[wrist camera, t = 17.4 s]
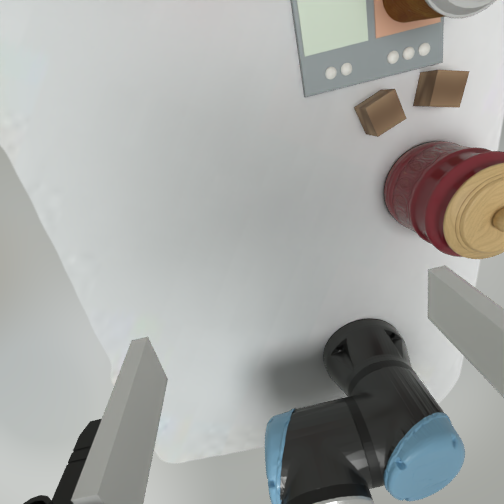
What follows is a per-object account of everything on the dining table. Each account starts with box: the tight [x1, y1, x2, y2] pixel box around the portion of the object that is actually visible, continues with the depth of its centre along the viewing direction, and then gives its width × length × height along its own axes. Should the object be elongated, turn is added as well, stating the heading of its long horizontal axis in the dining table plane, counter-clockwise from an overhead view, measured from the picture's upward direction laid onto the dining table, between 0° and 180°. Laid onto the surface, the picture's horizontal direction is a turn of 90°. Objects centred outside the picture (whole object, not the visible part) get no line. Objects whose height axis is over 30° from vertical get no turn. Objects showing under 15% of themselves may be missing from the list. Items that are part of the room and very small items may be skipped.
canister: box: [384, 141, 504, 259], centre depth 41 cm, size 13×13×18 cm
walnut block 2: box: [413, 70, 469, 107], centre depth 42 cm, size 4×4×4 cm
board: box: [291, 0, 444, 97], centre depth 39 cm, size 14×18×1 cm
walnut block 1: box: [354, 89, 406, 137], centre depth 43 cm, size 4×4×4 cm
